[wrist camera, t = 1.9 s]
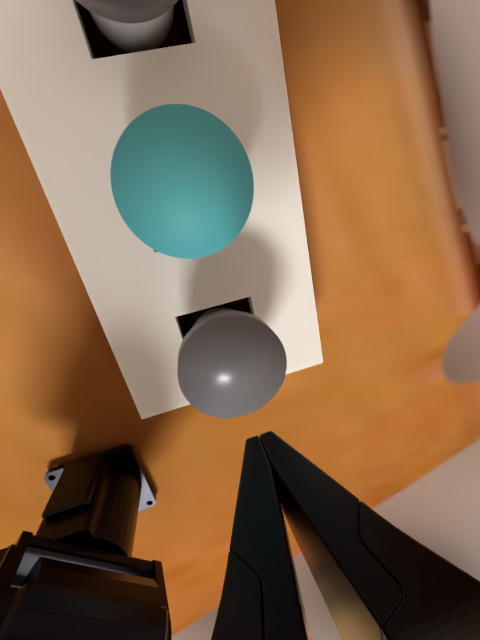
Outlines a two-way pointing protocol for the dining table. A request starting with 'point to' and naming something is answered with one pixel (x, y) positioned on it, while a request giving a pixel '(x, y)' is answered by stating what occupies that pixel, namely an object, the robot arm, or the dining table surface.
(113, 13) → the knob
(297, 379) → the dining table surface
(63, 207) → the knob mount
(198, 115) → the middle knob
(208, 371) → the knob
